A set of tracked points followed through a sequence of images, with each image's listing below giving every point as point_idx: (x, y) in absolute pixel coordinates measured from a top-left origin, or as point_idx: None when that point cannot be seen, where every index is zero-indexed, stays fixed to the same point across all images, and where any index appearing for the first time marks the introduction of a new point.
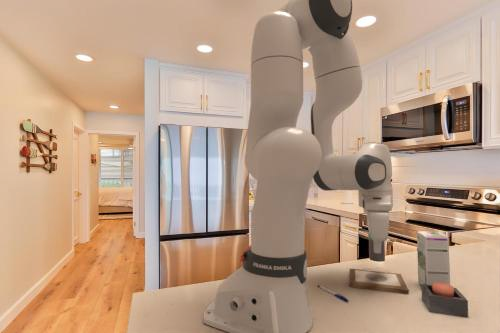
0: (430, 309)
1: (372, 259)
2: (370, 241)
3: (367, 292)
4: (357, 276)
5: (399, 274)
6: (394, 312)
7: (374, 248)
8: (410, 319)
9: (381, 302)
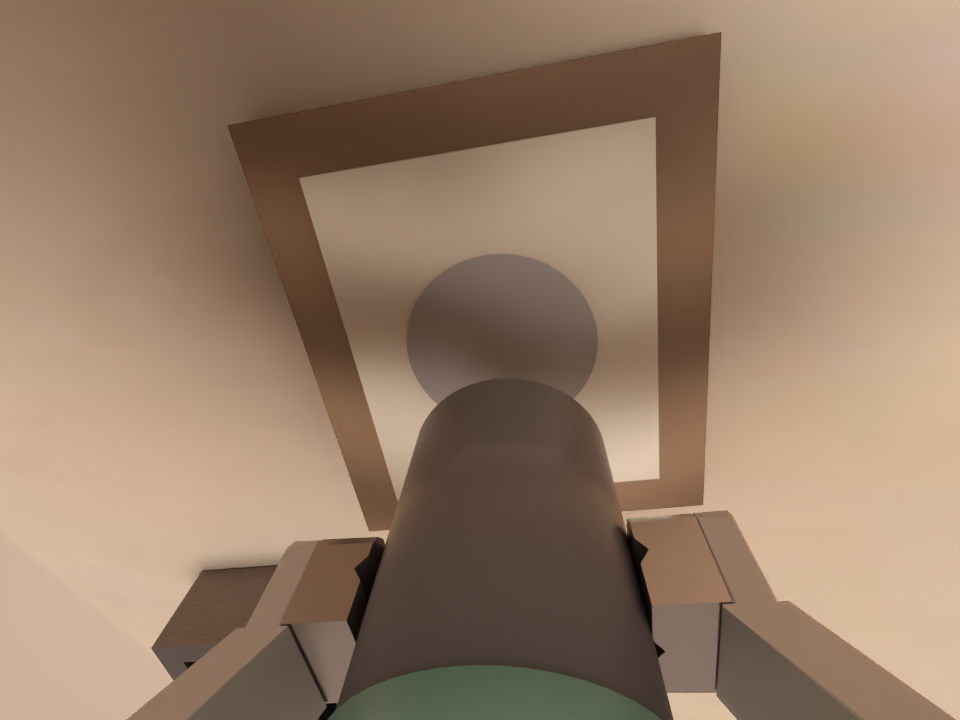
0: (197, 584)
1: (424, 425)
2: (378, 637)
3: (229, 284)
4: (436, 180)
5: (690, 497)
6: (57, 441)
7: (269, 598)
8: (45, 499)
9: (131, 378)
